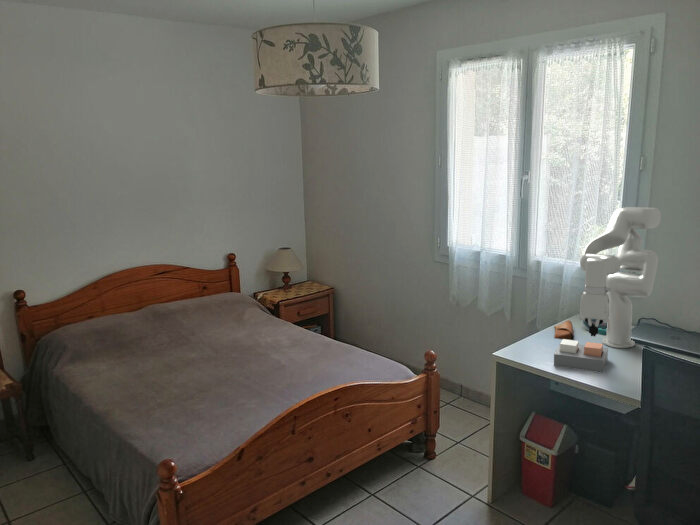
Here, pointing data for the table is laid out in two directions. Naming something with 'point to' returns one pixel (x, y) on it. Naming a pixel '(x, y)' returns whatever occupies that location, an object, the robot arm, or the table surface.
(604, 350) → the key console
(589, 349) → the orange square block
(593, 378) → the table surface
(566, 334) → the sunglasses case
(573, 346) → the offwhite key
